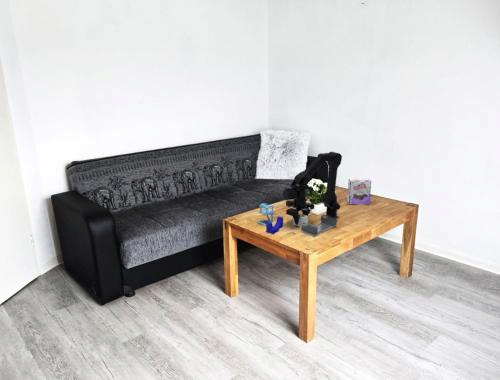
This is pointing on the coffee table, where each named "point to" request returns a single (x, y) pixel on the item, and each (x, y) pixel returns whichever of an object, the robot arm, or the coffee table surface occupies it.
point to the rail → (319, 226)
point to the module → (301, 220)
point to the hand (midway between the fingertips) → (300, 223)
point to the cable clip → (276, 227)
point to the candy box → (359, 191)
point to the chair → (266, 213)
